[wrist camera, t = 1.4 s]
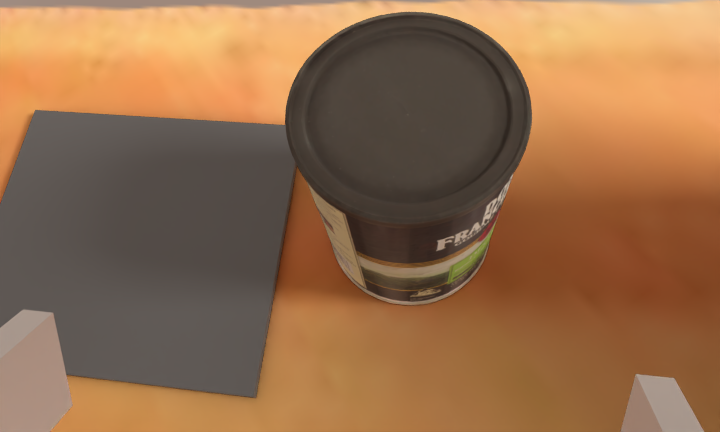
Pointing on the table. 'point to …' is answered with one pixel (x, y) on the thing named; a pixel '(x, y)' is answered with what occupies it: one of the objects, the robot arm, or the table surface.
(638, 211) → the table surface
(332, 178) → the coffee can
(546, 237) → the table surface
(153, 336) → the rubber mat
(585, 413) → the table surface
